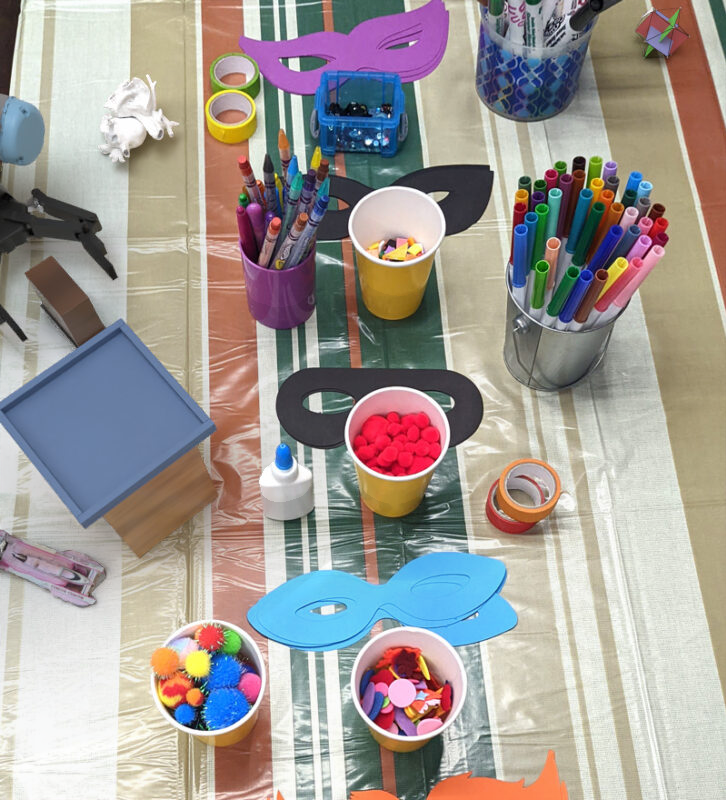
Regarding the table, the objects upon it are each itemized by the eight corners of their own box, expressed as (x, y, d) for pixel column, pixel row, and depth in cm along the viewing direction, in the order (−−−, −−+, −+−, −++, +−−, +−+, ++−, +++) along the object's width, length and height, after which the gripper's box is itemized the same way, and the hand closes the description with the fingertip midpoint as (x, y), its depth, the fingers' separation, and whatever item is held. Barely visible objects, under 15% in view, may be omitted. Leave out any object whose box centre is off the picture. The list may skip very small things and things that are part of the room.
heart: (139, 61, 125) (176, 103, 119) (161, 99, 131) (197, 140, 125) (70, 111, 125) (104, 154, 119) (95, 146, 130) (128, 189, 125)
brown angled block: (44, 313, 117) (17, 269, 108) (73, 293, 118) (48, 248, 109) (87, 363, 114) (63, 323, 105) (117, 343, 115) (95, 301, 106)
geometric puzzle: (699, 32, 132) (682, -14, 127) (689, 65, 130) (671, 19, 124) (653, 45, 137) (635, 1, 131) (642, 77, 134) (623, 34, 129)
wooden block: (81, 487, 108) (22, 417, 89) (160, 428, 111) (120, 349, 92) (138, 558, 105) (90, 501, 86) (219, 496, 108) (189, 428, 89)
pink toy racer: (112, 566, 105) (103, 556, 101) (91, 610, 103) (81, 601, 99) (12, 531, 106) (-1, 520, 102) (-11, 573, 104) (-25, 563, 100)
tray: (-5, 415, 90) (-11, 408, 88) (124, 325, 93) (120, 317, 92) (85, 529, 85) (80, 524, 84) (217, 430, 89) (214, 423, 88)
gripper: (64, 167, 122) (155, 265, 116) (-95, 267, 116) (-7, 376, 110) (46, 127, 115) (142, 229, 109) (-124, 232, 109) (-31, 346, 103)
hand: (68, 303), depth 110 cm, fingers open, 13 cm apart
